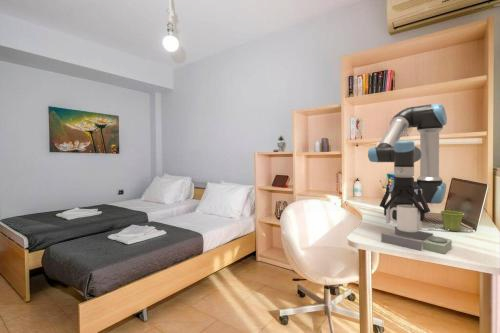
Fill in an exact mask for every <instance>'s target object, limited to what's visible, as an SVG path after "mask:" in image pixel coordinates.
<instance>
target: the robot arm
mask: <svg viewBox="0 0 500 333" xmlns="http://www.w3.org/2000/svg"><path fill="white" fill-rule="evenodd" d="M447 118H448V117H447V113H446V109H445V106H444V105H443V104H442V103H430V104H424V105H418V106H417V105H416V106H410V107H405V108H404V109H402V110H401V111H399V112H398V113H397V114H395V115H394V116H393V117H392V118H391V120H390V122H389V127H387V130H386V131H385V133H384V135H383V136H382V138H381V140H379V143H378V145H377V146H372V147H370V148H369V149H368V152H367V157H368V160H369V162H371V163H394V164H393V175H394V177H393V180H391V182H390V186H387V187H385V193H384V195H383V197H382V199H381V202H380V204H379V207H381V208H383V215H384V216H385V223H386V224H387V225H388V224H390V223H391V219H390V210H391V208H393V207H396V208H397V205H413V206H415V207H416V208H418V211H419V213H418V229H419V230H421V229H422V228H423V222H424V221H425V220H426V214H428V213H430V212H431V209H430V207H429V204H435V205H436V204H442V202H443V201H444V199H445V196H446V193H447V192H446V191H447V183H446V182H443V178H442V177H440V132H441V131H442V130H443V129H444V127H443V126H446V125H447V123H448V121H447ZM410 128H416V131H417V132H418V133H419V135H420V136H419V137H420V138H419V141H420V142H419V144H420V146H419V147H417V146H415V141H413V140H400V139H401V137H402V135H403V133H404V132H405V131H406V130H407V129H410ZM407 131H408V130H407ZM418 161H419V176H418V177H417V178H416V181H415V178H414V176H415V163H416V162H418ZM389 197H390V199H389ZM388 199H389V200H388ZM392 218H393V219H394V220H397V210H393V212H392Z"/></svg>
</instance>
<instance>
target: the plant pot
mask: <svg viewBox="0 0 500 333" xmlns="http://www.w3.org/2000/svg"><path fill="white" fill-rule="evenodd" d="M439 212H440V214H441V216H442V225H443V229H444V228H446V229H449V230H450V231H454V232H459V231H460V229H461V226H462V220H463V217H464V215H465V213H463V212H460V211H455V210H440V211H439ZM446 229H445V230H446ZM449 230H448V231H449Z"/></svg>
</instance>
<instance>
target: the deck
mask: <svg viewBox="0 0 500 333" xmlns="http://www.w3.org/2000/svg"><path fill="white" fill-rule="evenodd" d="M394 234H395V235H393V234H388V233H383V232H382V233H381V234H380V235H381V237H380V238H381V240H380V241H381V242H382V243H385V244H386V243H387V244H390V245H395V246H399V247H404V248H408V249H411V250H417V251H422V250H425V251H430V252H434V253H438V254H443V255H444V254H446V253H447V252H448V251H449V250H450V249H451V248H452V244H453V243H452V242H453V240H452V239H449V238H445V237H440V236H434V233H433V232H425V231H421V230H419V231H418V232H405V231H401V230H398V229H397V226H394ZM402 236H403V237H402Z"/></svg>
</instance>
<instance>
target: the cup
mask: <svg viewBox="0 0 500 333" xmlns="http://www.w3.org/2000/svg"><path fill="white" fill-rule="evenodd" d="M393 210H397V219H393V218H392V212H393ZM418 213H420V212H419V211H418V208H416V207H415V205H414V204H413V205H397V208H396V207H393V208H391V210H390V222H392V223H393V224H396V227H397V229H398V230H401V231H405V232H418V231H420V229H418Z"/></svg>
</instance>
